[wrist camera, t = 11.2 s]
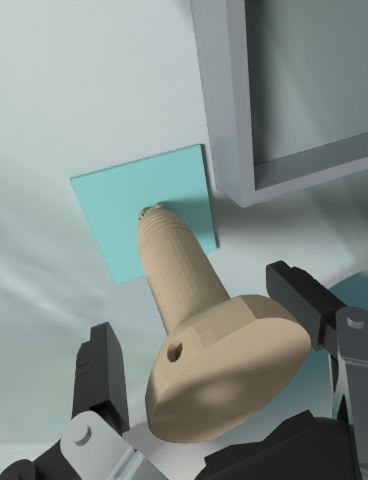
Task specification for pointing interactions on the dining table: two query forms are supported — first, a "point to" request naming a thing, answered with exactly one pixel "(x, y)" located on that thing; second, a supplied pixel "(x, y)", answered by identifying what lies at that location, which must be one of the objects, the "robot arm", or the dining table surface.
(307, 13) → the dining table surface
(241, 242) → the dining table surface
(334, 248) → the dining table surface
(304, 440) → the robot arm
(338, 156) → the case
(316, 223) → the dining table surface
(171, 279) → the handle
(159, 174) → the pad
